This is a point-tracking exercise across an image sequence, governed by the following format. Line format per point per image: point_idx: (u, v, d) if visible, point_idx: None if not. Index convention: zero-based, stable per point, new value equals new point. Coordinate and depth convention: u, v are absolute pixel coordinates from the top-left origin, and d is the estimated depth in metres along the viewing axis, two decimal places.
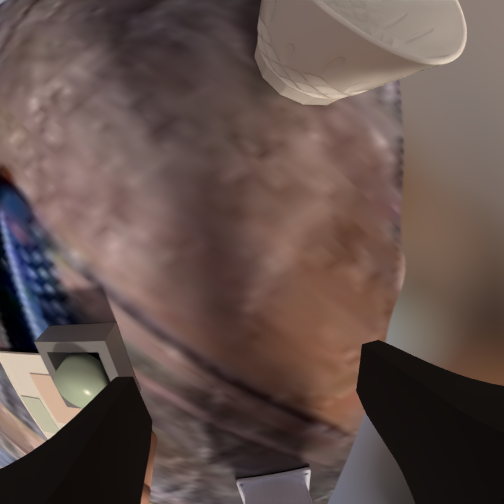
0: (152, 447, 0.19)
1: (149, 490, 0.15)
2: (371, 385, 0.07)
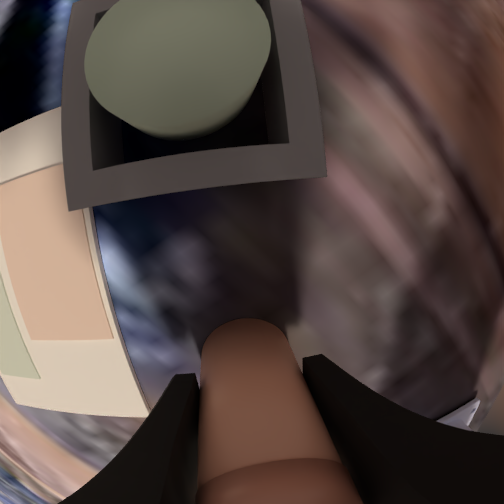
0: (299, 368, 0.08)
1: None
2: None
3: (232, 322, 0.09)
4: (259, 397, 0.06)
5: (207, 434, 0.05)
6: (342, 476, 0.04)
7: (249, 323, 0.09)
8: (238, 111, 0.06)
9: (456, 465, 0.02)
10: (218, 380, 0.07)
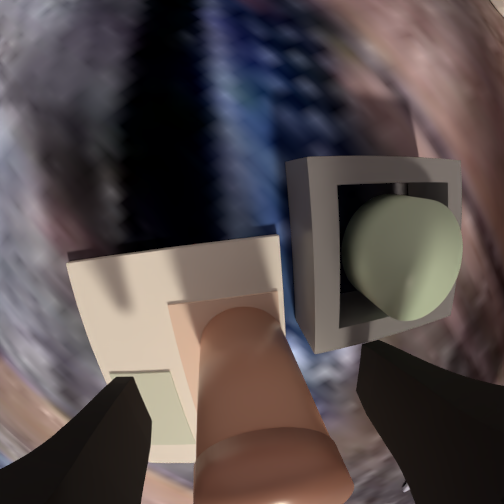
0: None
1: None
2: (371, 385, 0.07)
3: (228, 311, 0.10)
4: (251, 374, 0.06)
5: (204, 410, 0.06)
6: (327, 446, 0.05)
7: (244, 311, 0.10)
8: None
9: None
10: (215, 361, 0.08)
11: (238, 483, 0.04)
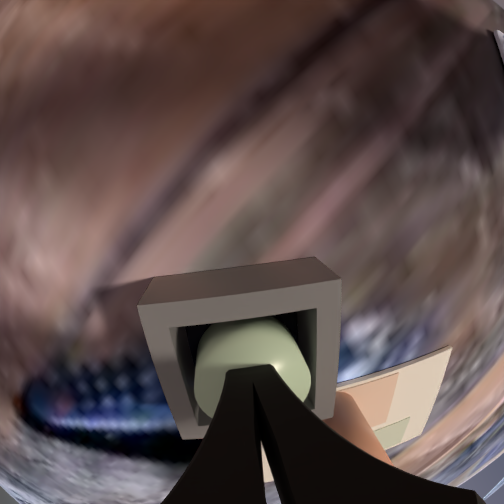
0: (330, 418, 0.10)
1: None
2: None
3: None
4: None
5: None
6: None
7: None
8: (284, 328, 0.09)
9: None
10: None
11: None
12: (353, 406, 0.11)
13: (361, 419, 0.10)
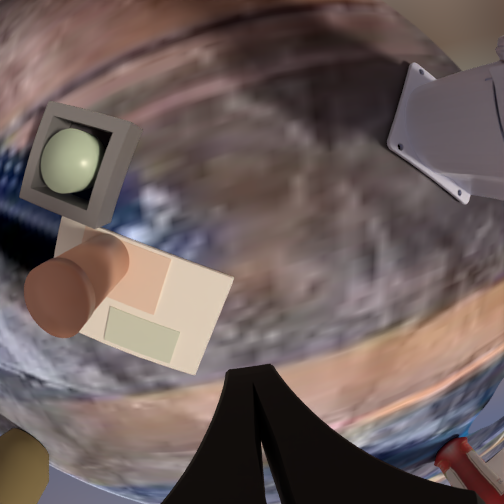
0: (97, 239, 0.14)
1: (69, 262, 0.10)
2: None
3: None
4: None
5: None
6: (44, 262, 0.10)
7: None
8: (101, 148, 0.14)
9: None
10: None
11: (25, 299, 0.09)
12: (119, 249, 0.15)
13: (114, 253, 0.14)
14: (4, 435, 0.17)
